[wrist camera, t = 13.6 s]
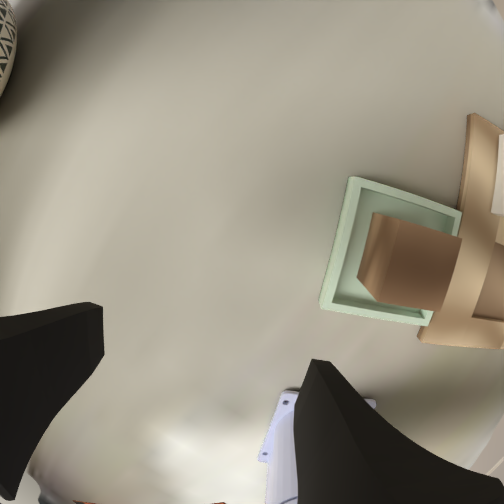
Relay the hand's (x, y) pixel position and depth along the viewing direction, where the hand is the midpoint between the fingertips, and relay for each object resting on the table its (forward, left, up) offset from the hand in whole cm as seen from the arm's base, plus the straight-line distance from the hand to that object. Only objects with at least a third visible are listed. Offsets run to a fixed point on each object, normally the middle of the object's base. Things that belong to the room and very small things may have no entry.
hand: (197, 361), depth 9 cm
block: (+4, -10, -10) cm, 14 cm away
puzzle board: (+7, -20, -10) cm, 23 cm away
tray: (+4, -10, -10) cm, 14 cm away
